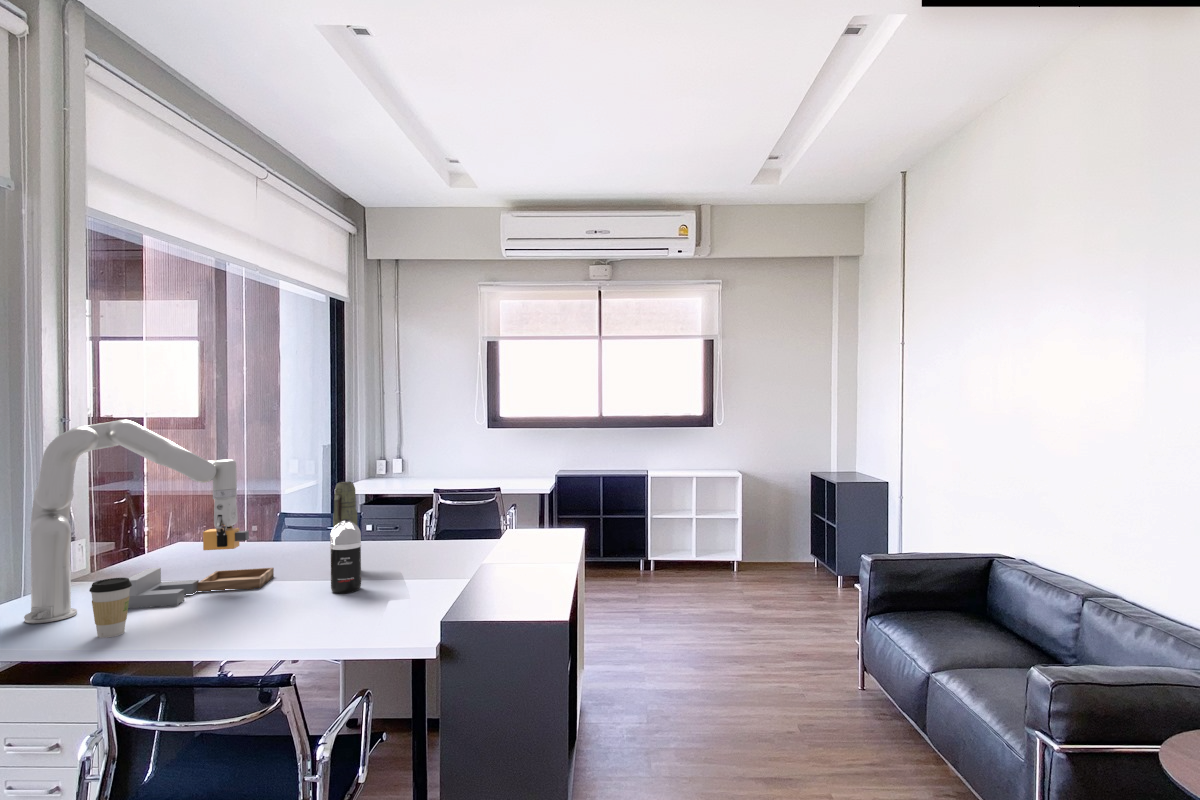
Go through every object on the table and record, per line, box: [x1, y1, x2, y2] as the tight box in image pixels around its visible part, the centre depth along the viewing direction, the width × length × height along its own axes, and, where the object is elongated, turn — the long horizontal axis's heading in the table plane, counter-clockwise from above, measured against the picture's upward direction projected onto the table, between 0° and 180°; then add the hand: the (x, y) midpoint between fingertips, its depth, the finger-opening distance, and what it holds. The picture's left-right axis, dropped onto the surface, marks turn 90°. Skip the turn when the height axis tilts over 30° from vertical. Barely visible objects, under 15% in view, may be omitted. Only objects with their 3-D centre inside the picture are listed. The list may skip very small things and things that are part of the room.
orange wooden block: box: [202, 527, 250, 551], centre depth 241 cm, size 6×14×6 cm, turn 100°
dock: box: [128, 567, 200, 609], centre depth 228 cm, size 18×16×9 cm
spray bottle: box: [329, 519, 362, 594], centre depth 236 cm, size 10×10×25 cm
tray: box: [198, 567, 275, 591], centre depth 247 cm, size 18×20×4 cm
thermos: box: [332, 481, 358, 528], centre depth 264 cm, size 9×12×35 cm
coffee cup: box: [89, 577, 132, 639], centre depth 192 cm, size 10×10×15 cm
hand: (225, 544), depth 241 cm, fingers closed on orange wooden block, 5 cm apart
